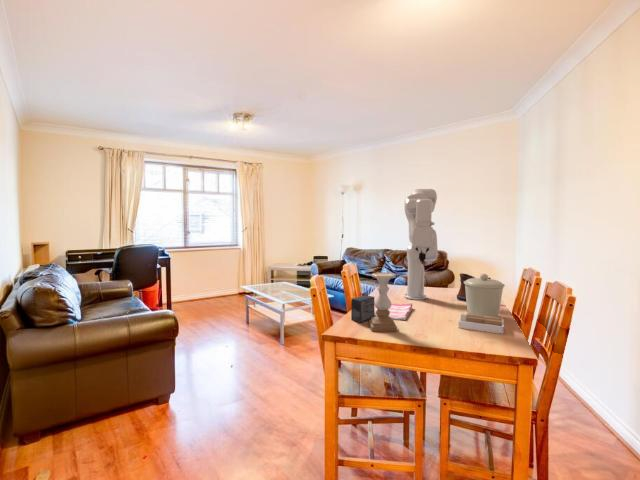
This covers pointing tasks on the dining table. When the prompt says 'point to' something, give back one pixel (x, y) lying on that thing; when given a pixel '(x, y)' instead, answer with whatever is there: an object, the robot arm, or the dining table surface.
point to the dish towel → (398, 311)
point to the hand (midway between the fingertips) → (422, 260)
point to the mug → (463, 286)
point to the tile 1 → (475, 318)
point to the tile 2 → (493, 320)
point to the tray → (480, 326)
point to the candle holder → (382, 306)
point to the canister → (483, 295)
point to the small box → (362, 308)
